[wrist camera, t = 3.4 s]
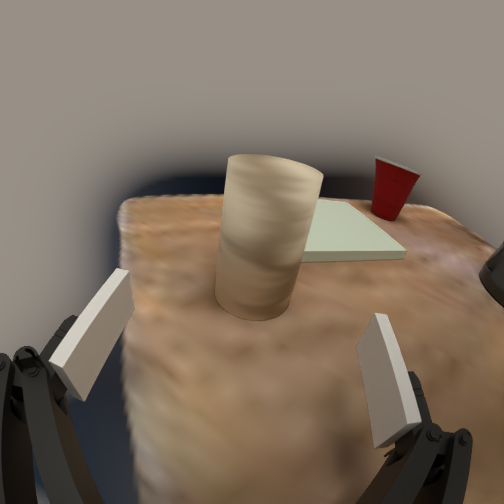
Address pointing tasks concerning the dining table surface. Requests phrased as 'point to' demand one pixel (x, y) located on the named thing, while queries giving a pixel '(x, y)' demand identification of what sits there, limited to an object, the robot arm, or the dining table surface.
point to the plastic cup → (391, 188)
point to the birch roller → (263, 233)
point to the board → (347, 236)
